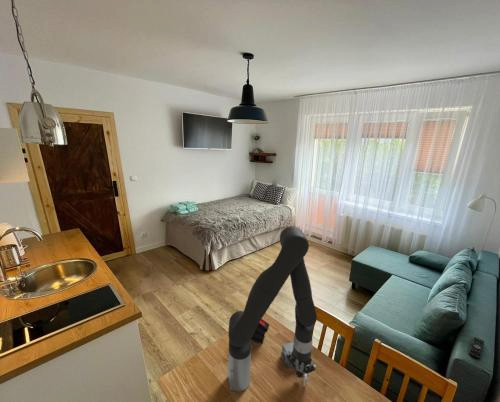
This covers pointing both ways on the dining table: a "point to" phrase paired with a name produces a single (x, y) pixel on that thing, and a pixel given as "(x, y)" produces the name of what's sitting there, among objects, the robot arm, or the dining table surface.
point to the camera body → (284, 352)
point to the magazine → (260, 332)
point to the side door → (305, 379)
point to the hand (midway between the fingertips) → (299, 375)
